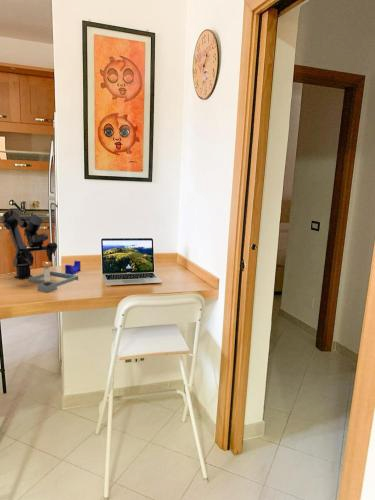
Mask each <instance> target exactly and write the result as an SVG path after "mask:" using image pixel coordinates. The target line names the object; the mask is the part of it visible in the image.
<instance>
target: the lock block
mask: <svg viewBox="0 0 375 500" xmlns="http://www.w3.org/2000/svg"><path fill="white" fill-rule="evenodd" d="M53 282H54V281H52V282H50V285H44V282H43V283H38V284H37V291H38V292H43V293H51V292H54V291H56V290H58V286H57V283H53Z"/></svg>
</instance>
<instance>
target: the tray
mask: <svg viewBox="0 0 375 500" xmlns="http://www.w3.org/2000/svg"><path fill="white" fill-rule="evenodd" d="M50 277H56V278H61V279H62V278H63V280H59V281H57V282H56V281H51V280H50V282H53V283H57V287H59V286H62V285H65V284H68V283H70V282H73V281H79V275H75V274H73V275H71V274H65V272H58V271H54V270H53V271H52V270H50ZM42 278H44V272H43V273H40V274H38V275H32V277H29V278H28V282H32V283H38V284H40V283H43V282H44V279H42Z"/></svg>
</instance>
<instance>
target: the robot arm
mask: <svg viewBox="0 0 375 500" xmlns="http://www.w3.org/2000/svg"><path fill="white" fill-rule="evenodd" d="M0 221H1V223H2V224H3V227H4V228H5V229H7V230H8V232H9V234H10V236H11V239H12V242H13V245H14V249H15V251H14V253H15V254H14V258H13V261H12V266H13V267H15V268H16V275H14V278H16V279H22V280H25V279H29V278H30V277H33V275H31V268H30V267H31V266H32V267H33V265H34V260H35V259H34V256H33V254H32V252H41V251H45V252H46V256H47V259H48V261H51V264H52V262H53V255H54V253H55V252H56V251H57V248H58V244H57V243H56V242H47V245H46V246H45V245H44V242H45V241H47V240H48V239H49V236H48V233H47V232H43V233H39V234H38V231H40V229H41V225H42V224H43V219H42V217H40V216H37V214H35V213H34V214H30V215H28V214H25V213H24V212H22V211H21V209H20V208H16V207H15V208H9V209H8V210H7V211H5V212H4V213H3V214H2V216H1V220H0ZM19 227H20V228H21V229H24V231H23V233H24V234H23V235H24V236H25V238H26V241H27V242H26V244H27V245H28V247H27V245H26V244H25V243H24V240H23V237H22V235H21V230H20V228H19ZM43 245H44V246H43Z"/></svg>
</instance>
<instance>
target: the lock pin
mask: <svg viewBox="0 0 375 500" xmlns="http://www.w3.org/2000/svg"><path fill="white" fill-rule="evenodd" d="M41 265H42V267H43V273H44V277H43V280H44V285H50V281H51V276H50V271H51V266H52V263H51V261H49V260H45V261H44V260H43V261H42V262H41Z"/></svg>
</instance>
